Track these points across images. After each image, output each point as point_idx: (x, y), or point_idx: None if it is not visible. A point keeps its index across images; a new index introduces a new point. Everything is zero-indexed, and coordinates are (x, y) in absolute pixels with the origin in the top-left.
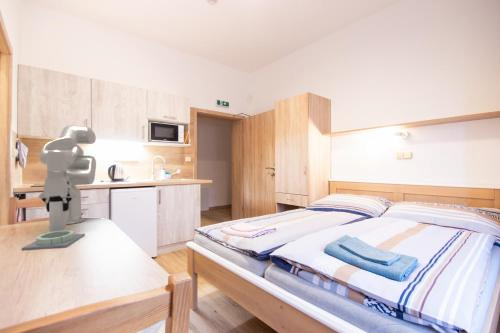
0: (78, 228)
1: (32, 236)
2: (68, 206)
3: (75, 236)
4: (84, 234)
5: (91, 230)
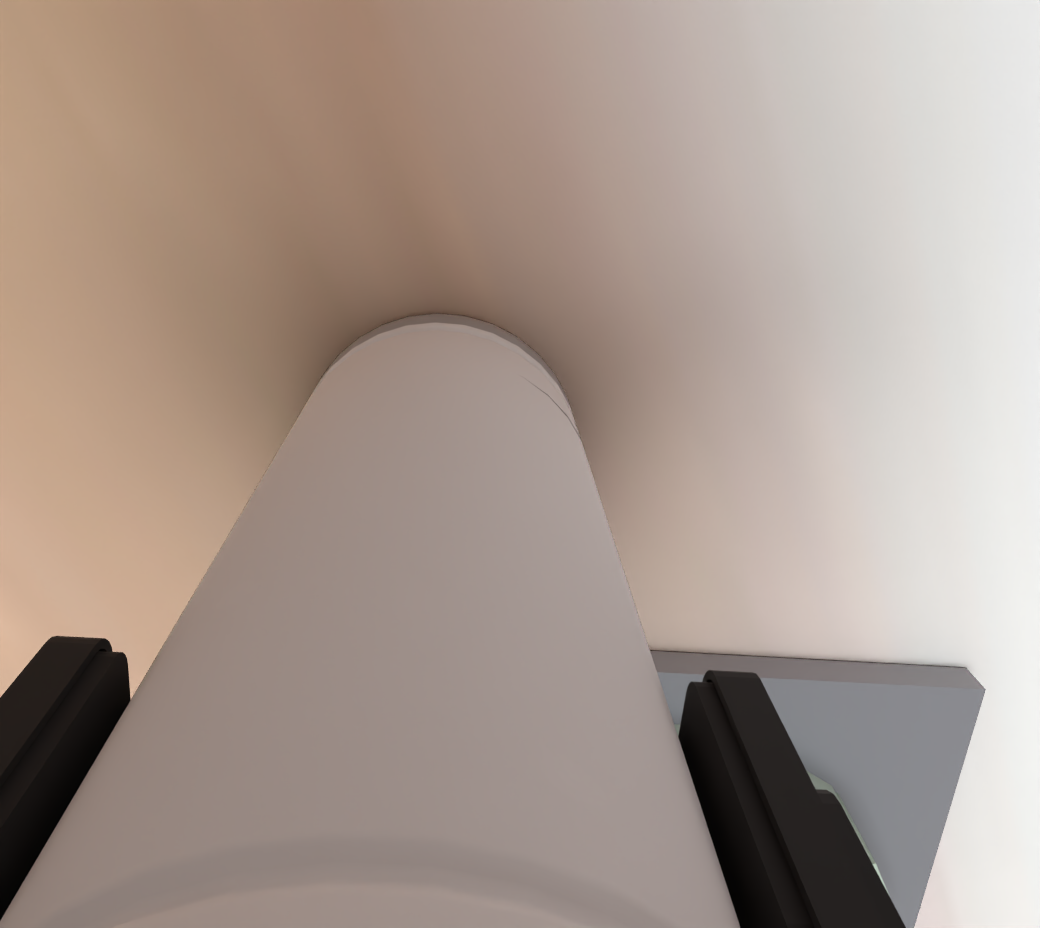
0: (706, 35)
1: (9, 476)
2: (855, 868)
3: (870, 813)
4: (975, 686)
5: (1032, 330)
